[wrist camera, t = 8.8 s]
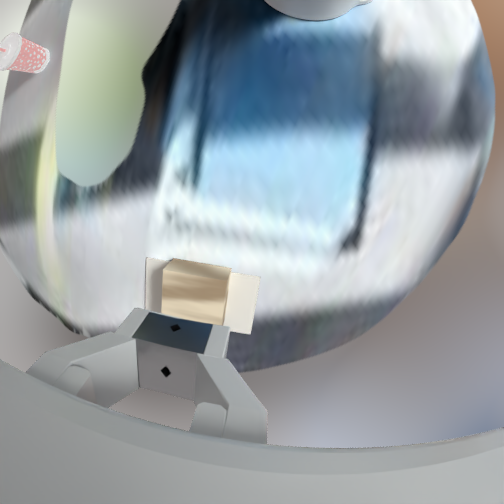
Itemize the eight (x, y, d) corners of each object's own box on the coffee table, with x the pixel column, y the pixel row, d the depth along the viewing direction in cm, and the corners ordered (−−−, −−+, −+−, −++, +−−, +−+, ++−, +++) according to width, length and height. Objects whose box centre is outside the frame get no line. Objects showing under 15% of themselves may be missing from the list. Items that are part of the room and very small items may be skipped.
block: (163, 269, 36) (161, 324, 39) (227, 280, 36) (219, 336, 39) (173, 258, 41) (170, 309, 43) (231, 268, 41) (224, 320, 43)
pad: (147, 257, 41) (146, 257, 41) (260, 276, 41) (260, 277, 41) (146, 313, 44) (145, 314, 44) (250, 333, 44) (250, 334, 43)
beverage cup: (23, 70, 33) (-33, 59, 20) (41, 40, 32) (-13, 21, 18) (39, 83, 34) (-21, 71, 21) (59, 50, 33) (2, 30, 19)
